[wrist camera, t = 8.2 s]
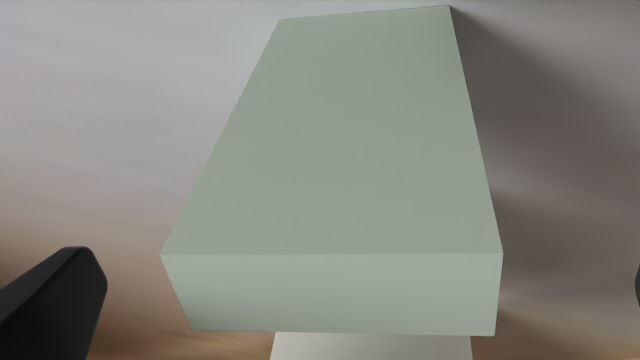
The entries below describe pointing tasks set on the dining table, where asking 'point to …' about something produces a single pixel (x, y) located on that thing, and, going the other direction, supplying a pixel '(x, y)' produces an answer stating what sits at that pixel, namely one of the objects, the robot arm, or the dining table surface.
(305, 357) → the domino
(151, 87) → the dining table surface
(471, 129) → the domino
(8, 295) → the robot arm
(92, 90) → the dining table surface
